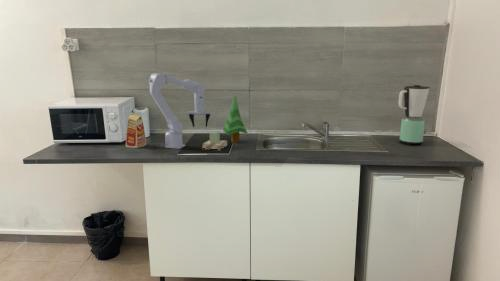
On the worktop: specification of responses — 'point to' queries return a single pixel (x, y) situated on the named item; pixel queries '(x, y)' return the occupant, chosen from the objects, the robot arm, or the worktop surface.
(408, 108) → the mint green blender
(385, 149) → the worktop surface
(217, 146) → the beige irregular slab
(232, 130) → the decorative tree
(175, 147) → the robot arm
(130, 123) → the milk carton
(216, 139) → the green block
